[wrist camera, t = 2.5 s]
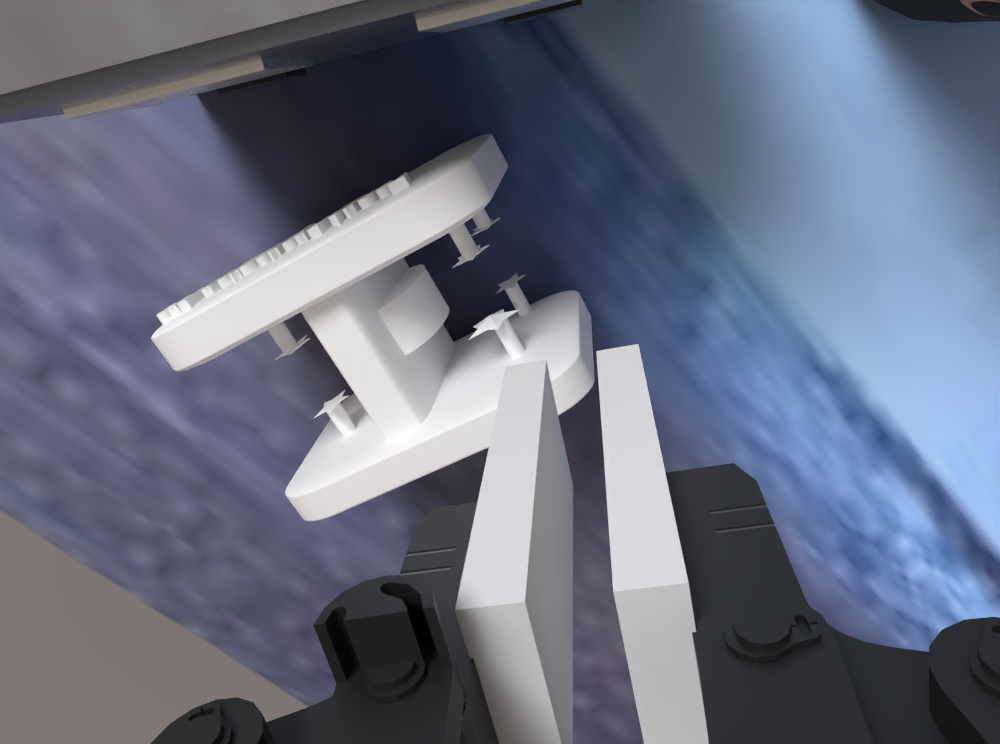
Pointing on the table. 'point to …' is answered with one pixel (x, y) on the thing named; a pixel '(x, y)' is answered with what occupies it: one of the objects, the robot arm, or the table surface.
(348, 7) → the box
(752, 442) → the table surface
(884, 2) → the coffee jar
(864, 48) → the table surface
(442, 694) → the robot arm
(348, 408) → the cable organizer
